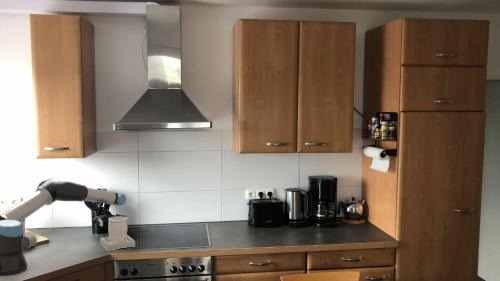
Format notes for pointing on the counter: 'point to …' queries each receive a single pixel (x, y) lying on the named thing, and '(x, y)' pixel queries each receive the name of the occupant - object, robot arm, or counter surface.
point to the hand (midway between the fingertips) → (113, 222)
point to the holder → (106, 243)
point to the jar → (117, 229)
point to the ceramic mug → (29, 241)
